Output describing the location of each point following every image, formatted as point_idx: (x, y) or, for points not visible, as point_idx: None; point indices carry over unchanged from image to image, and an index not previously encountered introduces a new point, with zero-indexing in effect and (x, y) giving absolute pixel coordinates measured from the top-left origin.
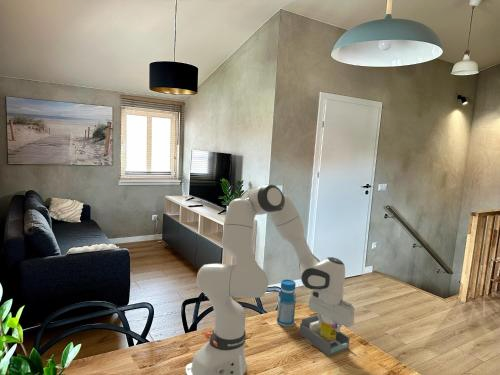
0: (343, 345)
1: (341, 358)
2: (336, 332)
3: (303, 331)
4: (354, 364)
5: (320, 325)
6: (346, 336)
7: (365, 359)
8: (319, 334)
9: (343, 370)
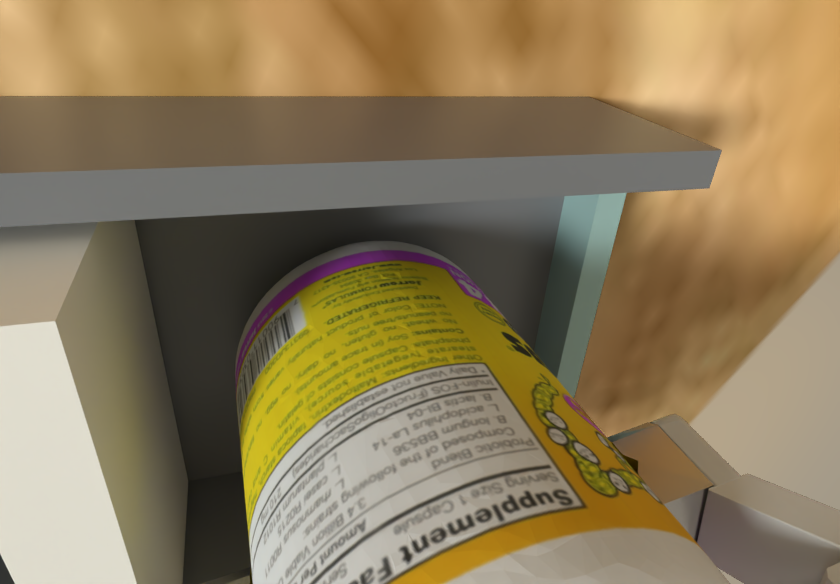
0: (609, 246)
1: (623, 324)
2: (541, 361)
3: None
4: (751, 270)
5: (138, 483)
6: (668, 189)
7: (824, 84)
8: (160, 355)
9: (705, 406)
